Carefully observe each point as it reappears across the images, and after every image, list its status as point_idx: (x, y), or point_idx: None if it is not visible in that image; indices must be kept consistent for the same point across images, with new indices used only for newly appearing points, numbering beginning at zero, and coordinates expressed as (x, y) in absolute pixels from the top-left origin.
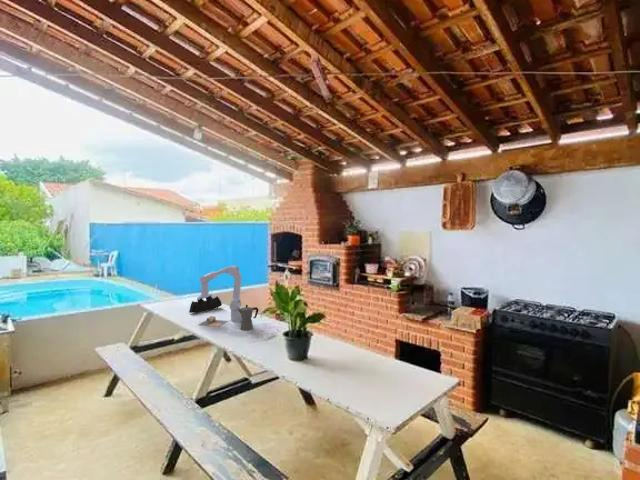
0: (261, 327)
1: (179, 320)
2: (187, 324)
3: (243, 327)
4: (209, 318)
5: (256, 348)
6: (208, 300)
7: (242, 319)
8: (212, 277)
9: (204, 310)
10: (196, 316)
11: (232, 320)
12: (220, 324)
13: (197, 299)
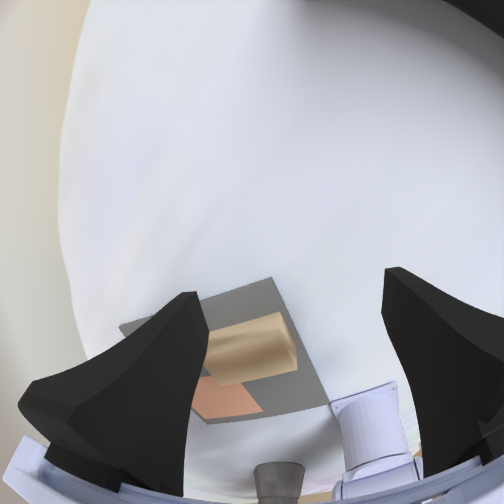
0: (319, 477)
1: (81, 77)
2: (76, 245)
3: (255, 479)
4: (217, 372)
5: (184, 493)
6: (430, 386)
7: (260, 501)
8: None
9: (461, 5)
10: (286, 55)
11: (339, 417)
12: (241, 413)
13: (26, 438)
